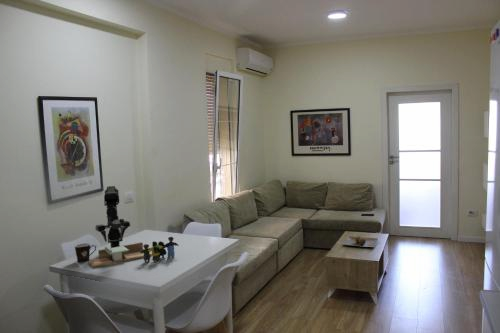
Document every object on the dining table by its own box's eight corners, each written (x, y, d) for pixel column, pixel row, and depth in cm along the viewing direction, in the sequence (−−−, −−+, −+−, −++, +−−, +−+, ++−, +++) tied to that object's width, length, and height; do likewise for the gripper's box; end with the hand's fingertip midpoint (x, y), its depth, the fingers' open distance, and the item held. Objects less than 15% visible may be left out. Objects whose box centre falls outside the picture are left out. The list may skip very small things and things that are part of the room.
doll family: (171, 254, 261) (170, 233, 260) (180, 256, 255) (179, 235, 254) (139, 264, 243) (138, 241, 242) (149, 266, 237) (147, 243, 236)
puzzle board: (88, 263, 247) (87, 252, 247) (144, 252, 267) (143, 241, 266) (94, 269, 237) (93, 257, 236) (151, 257, 256) (150, 246, 255)
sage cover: (105, 250, 251) (104, 246, 251) (123, 247, 257) (122, 243, 257) (110, 254, 242) (109, 250, 242) (128, 250, 249) (128, 246, 248)
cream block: (112, 260, 251) (111, 251, 251) (119, 258, 254) (119, 249, 253) (114, 261, 247) (114, 252, 247) (122, 260, 250) (121, 251, 249)
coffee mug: (74, 264, 248) (73, 247, 247) (77, 260, 256) (76, 244, 255) (94, 262, 250) (93, 245, 249) (97, 258, 258) (96, 242, 257)
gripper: (100, 218, 232) (102, 246, 233) (132, 213, 242) (134, 240, 244) (94, 215, 241) (96, 242, 242) (126, 211, 251) (127, 236, 253)
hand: (113, 240), depth 245 cm, fingers open, 9 cm apart
